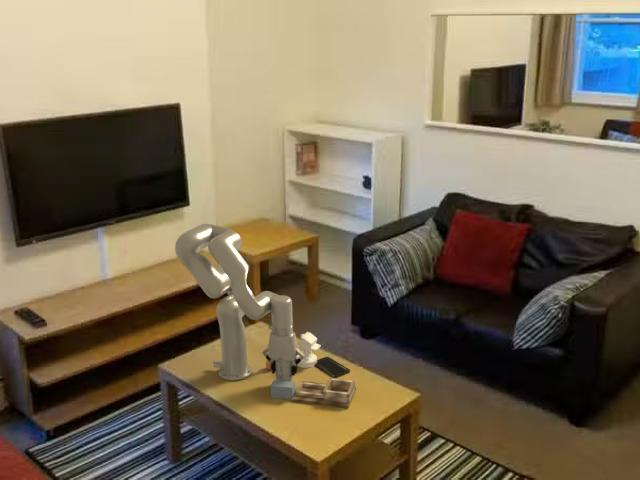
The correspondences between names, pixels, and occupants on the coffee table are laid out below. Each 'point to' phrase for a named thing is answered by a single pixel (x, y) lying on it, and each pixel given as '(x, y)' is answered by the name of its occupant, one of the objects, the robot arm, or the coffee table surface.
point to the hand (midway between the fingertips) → (284, 372)
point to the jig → (326, 393)
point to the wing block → (282, 389)
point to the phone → (331, 367)
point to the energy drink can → (283, 369)
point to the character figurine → (308, 350)
